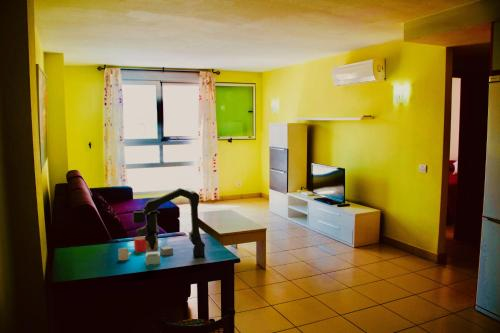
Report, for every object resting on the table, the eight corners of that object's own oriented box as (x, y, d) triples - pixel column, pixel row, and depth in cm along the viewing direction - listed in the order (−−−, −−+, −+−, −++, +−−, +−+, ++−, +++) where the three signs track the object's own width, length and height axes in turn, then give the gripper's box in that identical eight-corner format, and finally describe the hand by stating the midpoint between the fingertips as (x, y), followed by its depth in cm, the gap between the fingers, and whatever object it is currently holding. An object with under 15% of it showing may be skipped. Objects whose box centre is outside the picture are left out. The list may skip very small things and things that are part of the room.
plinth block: (160, 259, 232) (159, 251, 231) (160, 264, 224) (160, 255, 224) (146, 260, 230) (145, 252, 230) (146, 265, 222) (145, 257, 222)
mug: (154, 250, 249) (153, 238, 248) (134, 252, 245) (134, 240, 244) (153, 246, 256) (152, 235, 255) (134, 248, 253) (133, 237, 252)
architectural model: (119, 259, 234) (118, 247, 233) (131, 258, 236) (130, 246, 235) (118, 261, 231) (118, 249, 230) (130, 260, 233) (130, 248, 232)
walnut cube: (158, 247, 230) (158, 238, 229) (157, 251, 224) (157, 241, 223) (148, 248, 229) (147, 238, 228) (146, 251, 223) (146, 241, 222)
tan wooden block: (169, 251, 246) (169, 245, 246) (173, 254, 241) (172, 248, 241) (160, 253, 243) (160, 247, 243) (163, 256, 238) (163, 249, 237)
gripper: (139, 218, 233) (140, 244, 234) (134, 226, 214) (136, 254, 216) (158, 217, 234) (159, 243, 236) (155, 225, 216) (156, 253, 218)
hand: (152, 248), depth 226 cm, fingers closed on walnut cube, 6 cm apart
